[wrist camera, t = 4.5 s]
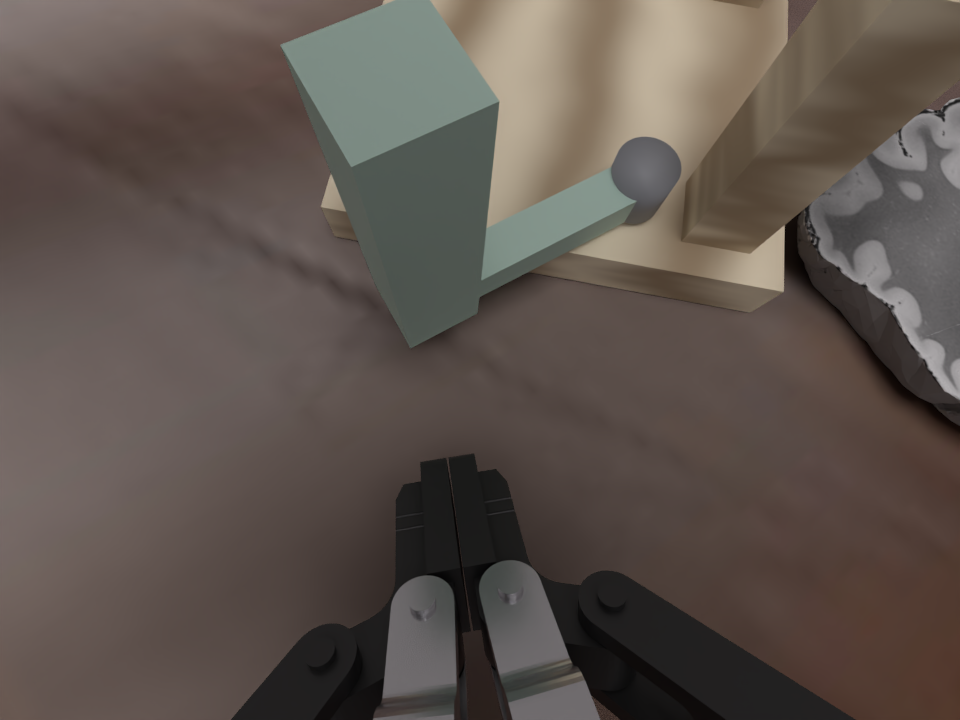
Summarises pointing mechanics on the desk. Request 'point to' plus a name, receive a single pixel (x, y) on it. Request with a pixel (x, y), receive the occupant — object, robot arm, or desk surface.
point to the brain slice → (898, 253)
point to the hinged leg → (443, 166)
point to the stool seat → (695, 120)
